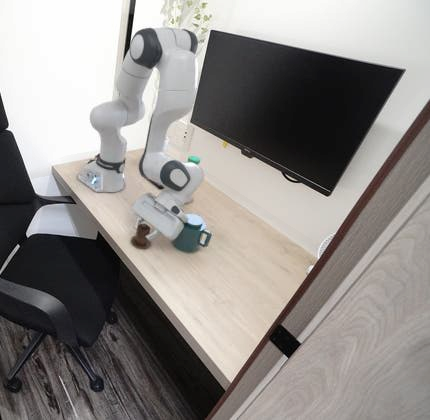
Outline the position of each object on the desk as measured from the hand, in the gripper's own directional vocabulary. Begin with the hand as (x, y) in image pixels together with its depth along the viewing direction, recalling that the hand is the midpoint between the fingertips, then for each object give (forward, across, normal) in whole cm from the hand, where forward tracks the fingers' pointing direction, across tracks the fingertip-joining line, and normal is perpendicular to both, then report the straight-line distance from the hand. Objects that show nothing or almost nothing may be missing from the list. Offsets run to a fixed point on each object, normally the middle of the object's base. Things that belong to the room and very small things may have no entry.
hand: (141, 234), depth 115 cm
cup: (-29, -41, +35) cm, 61 cm away
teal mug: (-7, +10, +14) cm, 18 cm away
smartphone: (-24, -30, +30) cm, 49 cm away
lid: (+3, 0, +4) cm, 4 cm away
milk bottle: (-23, -14, +29) cm, 39 cm away
